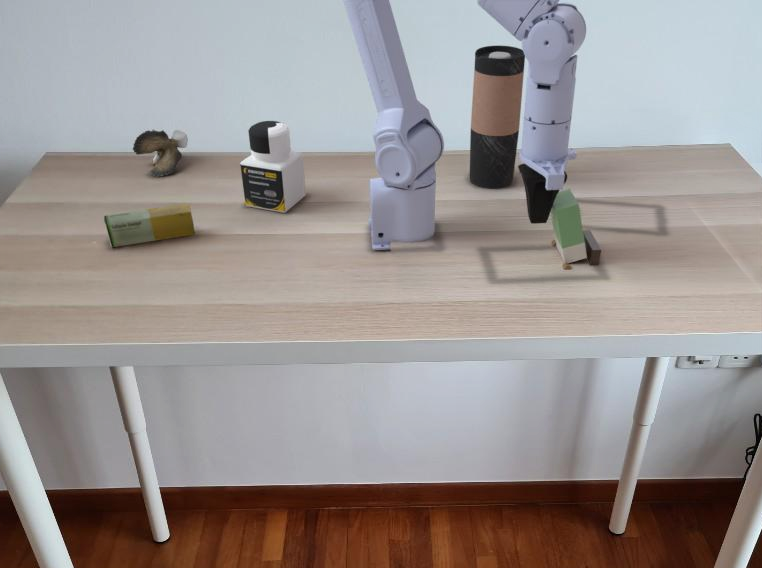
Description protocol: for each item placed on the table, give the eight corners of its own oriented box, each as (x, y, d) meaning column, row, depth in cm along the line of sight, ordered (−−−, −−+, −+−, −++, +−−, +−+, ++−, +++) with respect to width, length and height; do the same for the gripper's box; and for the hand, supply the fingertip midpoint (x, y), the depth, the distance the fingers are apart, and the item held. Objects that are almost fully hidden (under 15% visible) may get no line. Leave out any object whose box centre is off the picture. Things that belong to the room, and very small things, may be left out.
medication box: (110, 249, 114) (104, 224, 111) (109, 239, 116) (102, 214, 113) (196, 235, 117) (191, 210, 114) (193, 225, 119) (188, 201, 116)
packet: (555, 211, 103) (579, 204, 102) (547, 194, 107) (570, 188, 106) (564, 264, 108) (587, 258, 107) (556, 246, 112) (578, 240, 111)
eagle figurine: (142, 149, 141) (123, 159, 133) (160, 114, 138) (141, 121, 130) (181, 174, 143) (164, 185, 135) (199, 140, 140) (183, 149, 132)
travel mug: (522, 177, 134) (534, 49, 121) (501, 193, 129) (512, 61, 116) (481, 167, 137) (489, 42, 125) (459, 182, 132) (465, 54, 120)
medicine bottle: (244, 206, 125) (234, 129, 118) (267, 189, 130) (259, 114, 123) (285, 214, 123) (277, 136, 115) (306, 196, 128) (300, 120, 121)
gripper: (595, 136, 92) (580, 244, 100) (566, 97, 104) (556, 197, 112) (534, 138, 92) (524, 246, 100) (512, 99, 103) (505, 199, 112)
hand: (537, 221), depth 106 cm, fingers closed, pressing on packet
